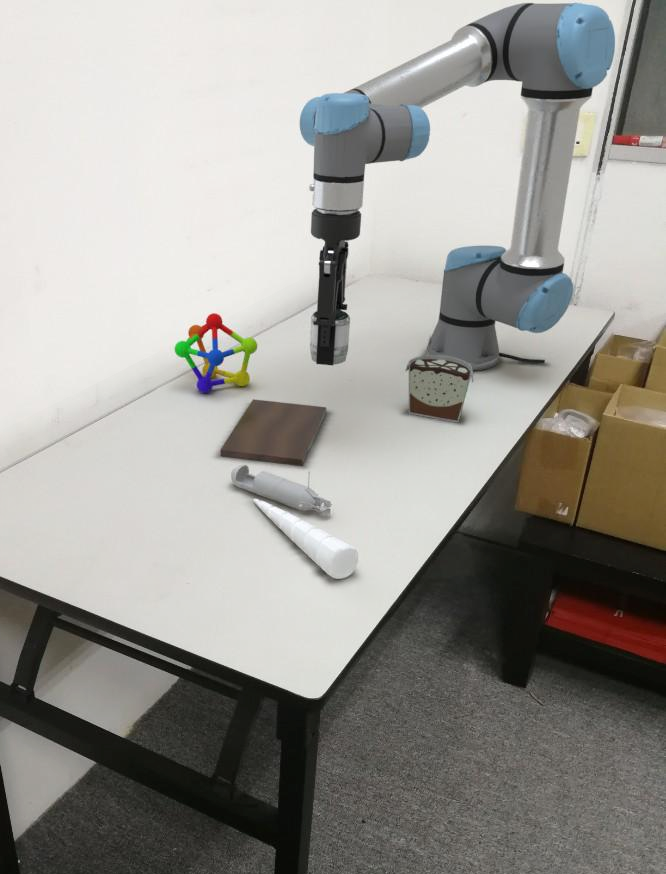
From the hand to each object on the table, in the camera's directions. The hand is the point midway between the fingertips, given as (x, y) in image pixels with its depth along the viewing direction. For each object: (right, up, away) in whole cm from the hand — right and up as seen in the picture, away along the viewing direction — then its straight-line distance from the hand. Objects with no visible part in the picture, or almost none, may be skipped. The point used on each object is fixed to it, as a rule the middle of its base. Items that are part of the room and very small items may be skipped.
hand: (328, 356), depth 141 cm
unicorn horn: (-6, -31, -20) cm, 37 cm away
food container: (+22, -7, +19) cm, 29 cm away
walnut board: (-8, -12, +10) cm, 17 cm away
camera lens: (0, -1, 0) cm, 1 cm away
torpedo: (-8, -24, -10) cm, 28 cm away
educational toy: (-20, -1, +27) cm, 34 cm away
